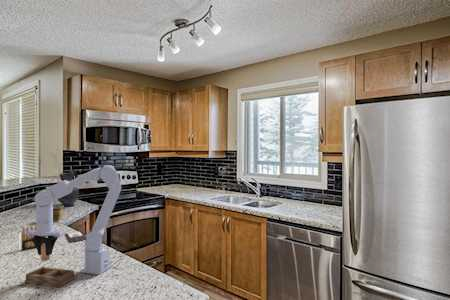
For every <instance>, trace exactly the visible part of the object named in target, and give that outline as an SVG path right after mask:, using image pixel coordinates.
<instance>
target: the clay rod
mask: <svg viewBox="0 0 450 300" xmlns="http://www.w3.org/2000/svg"><path fill="white" fill-rule="evenodd" d="M50 258H51V255H49V256H47V255H46V246H45V243H44V244H41V255H40V261H42V262H44V261H48V260H50Z"/></svg>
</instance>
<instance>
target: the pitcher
mask: <svg viewBox="0 0 450 300" xmlns="http://www.w3.org/2000/svg"><path fill="white" fill-rule="evenodd" d="M58 176H59V178H60V180H62V181H64V180H66V181H71V180H73V177H74V179H75V178H77V177H79V176H78V172H77V171H76V170H70V171H68V172H60V173H58ZM79 190H80V189H79V188H78V186H77V187H74V188H73V190H72V192H71V193H69V194H67V195H65V196H63V197H61V198H59V199H57V201H58V202H60V203H61V206H64V207H63V208H70V207H74V206H75V203H76V202H77V200H78V198H79V195H80V191H79Z"/></svg>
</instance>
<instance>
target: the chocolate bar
mask: <svg viewBox="0 0 450 300" xmlns="http://www.w3.org/2000/svg"><path fill="white" fill-rule="evenodd" d="M65 237H66V239H67V240H69V241H68V243H69V242H70V243H69V244H73V243H77V242H78V241H79V242H84V241H83V240H85V241H86V237H87V235H86V234H85V233H84V231H83V230H82V231H76V232H69V233H65ZM72 242H73V243H72ZM79 242H78V243H79Z"/></svg>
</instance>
